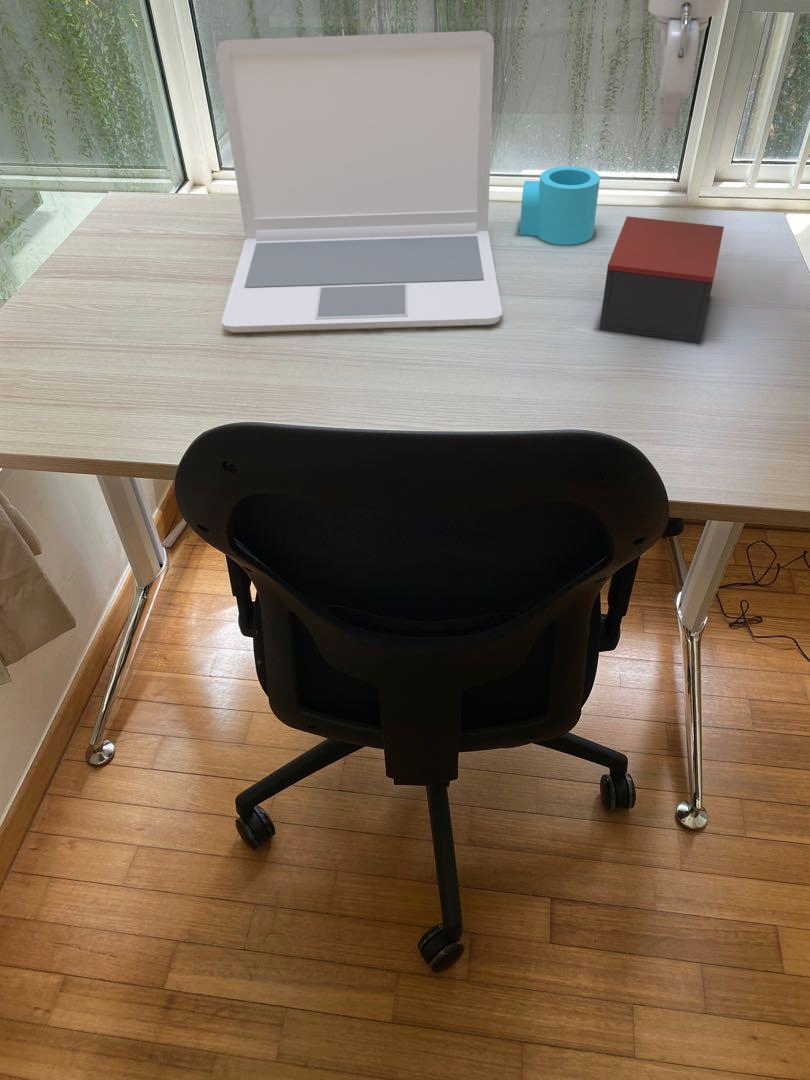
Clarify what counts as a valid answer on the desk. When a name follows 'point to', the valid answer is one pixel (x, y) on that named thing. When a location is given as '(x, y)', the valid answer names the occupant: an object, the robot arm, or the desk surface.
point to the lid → (667, 249)
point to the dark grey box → (654, 306)
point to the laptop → (361, 181)
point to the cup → (560, 205)
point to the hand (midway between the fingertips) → (667, 114)
